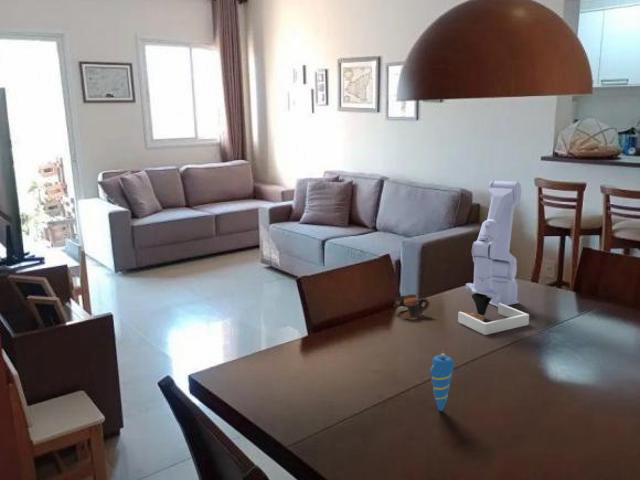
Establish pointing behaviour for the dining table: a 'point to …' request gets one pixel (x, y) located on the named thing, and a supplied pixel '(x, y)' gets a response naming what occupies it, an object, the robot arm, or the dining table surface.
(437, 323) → the dining table surface
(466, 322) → the box
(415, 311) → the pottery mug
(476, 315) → the shard
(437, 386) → the ornament
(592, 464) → the dining table surface
